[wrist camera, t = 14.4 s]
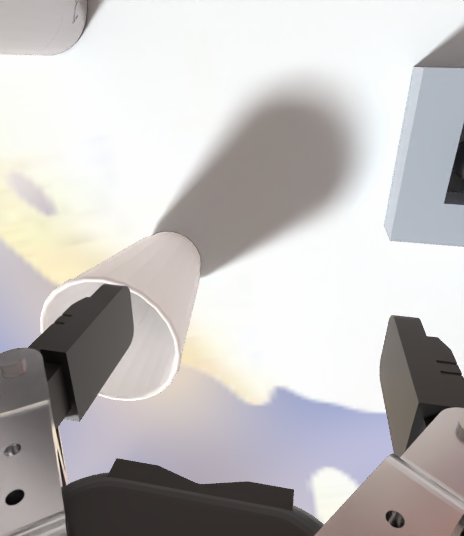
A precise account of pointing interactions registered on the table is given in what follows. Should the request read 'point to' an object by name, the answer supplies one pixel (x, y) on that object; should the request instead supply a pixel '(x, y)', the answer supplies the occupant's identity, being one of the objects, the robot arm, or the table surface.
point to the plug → (459, 161)
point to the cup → (142, 309)
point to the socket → (428, 161)
